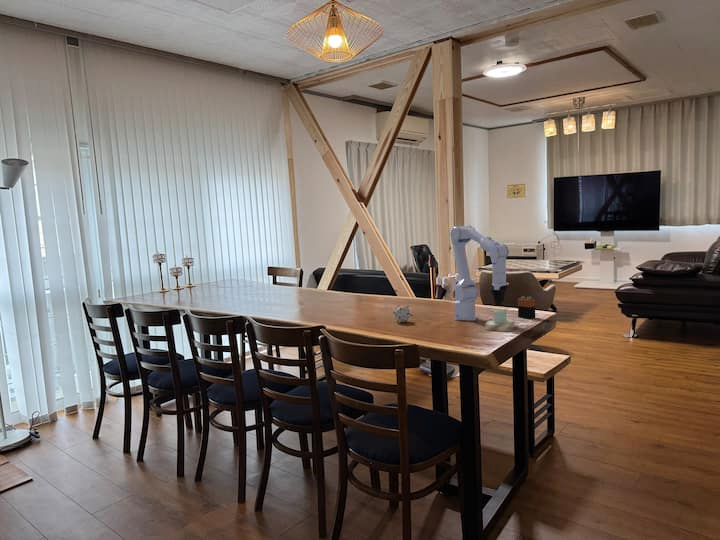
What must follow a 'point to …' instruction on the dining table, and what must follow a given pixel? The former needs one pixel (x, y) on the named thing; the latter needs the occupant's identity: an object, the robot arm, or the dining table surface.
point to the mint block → (500, 316)
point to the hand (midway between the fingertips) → (499, 303)
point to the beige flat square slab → (500, 325)
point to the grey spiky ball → (402, 314)
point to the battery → (526, 307)
